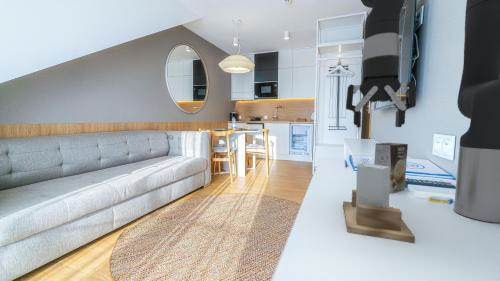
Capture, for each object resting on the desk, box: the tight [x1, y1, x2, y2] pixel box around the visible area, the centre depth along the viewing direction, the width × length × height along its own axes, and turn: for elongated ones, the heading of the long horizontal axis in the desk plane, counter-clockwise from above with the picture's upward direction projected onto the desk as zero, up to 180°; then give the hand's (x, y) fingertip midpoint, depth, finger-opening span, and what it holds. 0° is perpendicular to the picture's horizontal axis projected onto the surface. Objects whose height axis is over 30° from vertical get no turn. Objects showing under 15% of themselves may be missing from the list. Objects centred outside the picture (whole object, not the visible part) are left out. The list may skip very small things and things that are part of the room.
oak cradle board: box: [342, 189, 416, 244], centre depth 52 cm, size 12×16×5 cm
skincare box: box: [355, 162, 390, 213], centre depth 52 cm, size 6×4×12 cm
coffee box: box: [373, 142, 409, 194], centre depth 76 cm, size 9×6×16 cm
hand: (377, 127), depth 53 cm, fingers open, 8 cm apart
